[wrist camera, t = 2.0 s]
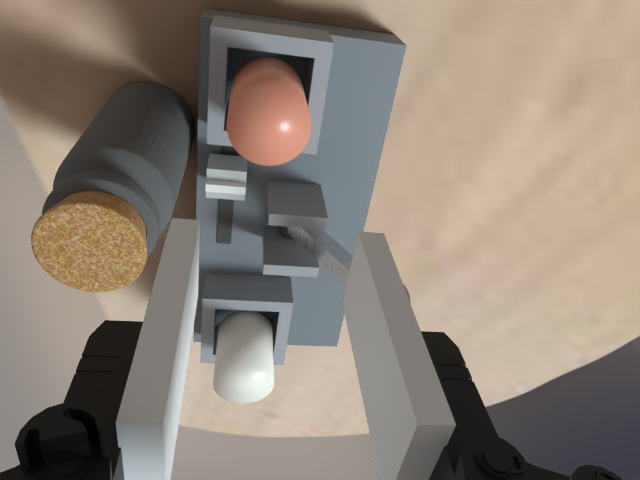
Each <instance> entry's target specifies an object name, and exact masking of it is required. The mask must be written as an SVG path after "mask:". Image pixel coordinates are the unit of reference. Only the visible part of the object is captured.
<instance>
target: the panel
mask: <svg viewBox="0 0 640 480" xmlns="http://www.w3.org/2000/svg"><path fill="white" fill-rule="evenodd" d="M405 49H406V45H405V44H404V43H403V42H402V41H401V40H400V39H399V38H398V37H397V36H396V35H395V34H388V33H381V32H374V31H367V30H360V29H353V28H346V27H339V26H332V25H325V24H318V23H311V22H303V21H296V20H289V19H282V18H275V17H268V16H261V15H254V14H247V13H240V12H233V11H225V10H218V9H211V8H204V10H203V12H202V14H201V16H200V31H199V85H198V139H197V193H196V220H200V235H199V279H198V300H197V307H196V313H195V320H194V342H201V362H200V363H215V360H216V349H217V339H218V329H219V325H220V323H221V321H222V320H223V319H224V318H225V317H227V316H228V315H230V314H232V313H235V312H239V311H253V312H257V313H259V314H261V315H263V316H265V317H266V318H267V319H268V320H269V321H270V323H271V325H272V335H273V365H284V359H285V353H286V346H287V345H308V346H337V343H338V338H339V334H340V330H341V325H342V321H343V317H344V307H343V299H344V294H345V290H346V287H345V286H344V285H343V284H342V283H341V282H340V281H339V280H338V279H337V278H336V277H335V276H334V275H333V274H332V273H330V272H329V271H328V270H327V269H326V268H325V267H324V266H323V265H322V264H321V263H320V262H319V261H318V260H317V259H316V258H314V257H313V256H312V255H311V254H310V253H309V252H308V251H307V250H306V249H305V248H304V247H303V246H302V245H301V244H300V243H298V242H297V241H296V240H295V239H287V238H284V237H282V236H281V235H280V234H279V233H278V230H279V226H288V227H302V228H315V229H322V230H324V231H325V232H326V233H327V234H328V235H329V236H331V237H332V238H333V239H334V240H335V241H336V242H338V243H339V244H340V245H341V246H342V247H343V248H345V249H346V250H347V251H348V252H349V253H350V254H352V255H353V254H354V250H355V246H356V241H357V237H358V232H363V230H364V226H365V222H366V217H367V213H368V209H369V204H370V200H371V196H372V192H373V187H374V183H375V179H376V174H377V170H378V166H379V161H380V157H381V153H382V148H383V144H384V140H385V135H386V131H387V127H388V122H389V118H390V114H391V110H392V105H393V101H394V97H395V92H396V88H397V84H398V79H399V75H400V71H401V66H402V62H403V58H404V53H405ZM260 57H273V58H277V59H280V60H282V61H284V62H286V63H288V64H289V65H290V66H291V67H293V69H294V70H295V71H296V72H297V74H298V75H299V77H300V79H301V82H302V85H303V89H304V93H305V97H306V101H307V105H308V110H309V114H310V118H311V134H310V138H309V140H308V143H307V145H306V146H305V148H304V149H303V151H302V152H301V153H300V154H299V155H298V156H296V157H295V158H294V159H292V160H290V161H288V162H286V163H283V164H280V165H274V166H265V165H259V164H256V163H253V162H251V161H249V160H247V178H246V193H245V201H242V200H230V199H217V198H206V192H205V188H206V178H207V165H208V160H209V154H221V155H231V156H241V155H240V154H239V153H238V152H237V151H236V150H235V148H234V147H233V145H232V144H231V142H230V139H229V137H228V133H227V115H228V108H229V101H230V94H231V87H232V82H233V79H234V77H235V75H236V73H237V72H238V70H239V69H240V68H241V67H242V66H243V65H244V64H246V63H247V62H249V61H251V60H253V59H256V58H260ZM242 157H243V156H242Z"/></svg>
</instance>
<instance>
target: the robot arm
mask: <svg viewBox="0 0 640 480" xmlns="http://www.w3.org/2000/svg"><path fill="white" fill-rule="evenodd" d="M199 235H200V220H192V219H178V218H171V222H170V226H169V229H168V233H167V237H166V240H165V244H164V248H163V251H162V255H161V259H160V262H159V266H158V270H157V273H156V277H155V281H154V284H153V288H152V292H151V295H150V299H149V303H148V306H147V310H146V314H145V317H144V321H143V322H134V321H109V320H105V321H104V322H103V323H102V324H101V325H100V326H99V327H98V328H97V329H96V330H95V331H94V332H93V333H92V334H91V335H90V336H89V339H88V341H87V343H86V346H85V349H84V351H83V354H82V359H80V362H79V364H78V367H77V369H76V374H75V375H74V377H73V380H72V382H71V385H70V388H69V390H68V393H67V395H66V398H65V400H64V403H63V404H59V405H56V406H52V407H49V408H47V409H45V410H43V411H42V412H40V413H38V414H37V415H35V416H33V417H32V418H31V419H30V420H29V421H28V422H27V423H26V425H25V426H24V427H23V428H22V429H21V430H20V432H19V435H18V437H17V440H16V442H15V447H16V451H17V454H18V457H19V461H20V465H18V466H16V467H14V468H12V469H9V470H6V471H4V472H1V473H0V480H170V478H171V471H172V464H173V458H174V451H175V445H176V438H177V431H178V425H179V419H180V412H181V405H182V399H183V392H184V386H185V379H186V372H187V366H188V359H189V353H190V346H191V340H192V333H193V326H194V320H195V313H196V307H197V300H198V279H199ZM343 307H344V312H345V317H346V322H347V326H348V331H349V336H350V341H351V346H352V350H353V355H354V360H355V365H356V369H357V374H358V379H359V384H360V388H361V393H362V398H363V403H364V407H365V412H366V417H367V422H368V426H369V431H370V436H371V440H372V445H373V450H374V455H375V460H376V465H377V469H378V474H379V479H380V480H622V479H621V478H620V477H618V476H617V475H616V474H614V473H613V472H610V471H608V470H606V469H604V468H602V467H599V466H593V465H585V466H581V467H578V468H577V469H576V470H575V472H574V473H573V474H572V475H571V476H570V477H569V476H566V475H562V474H559V473H555V472H552V471H549V470H546V469H542V468H539V467H537V466H534V465H531V464H529V463H527V462H525V459H524V457H523V456H522V455H521V454H520V453H519V452H518V451H517V449H516V448H515V447H514V446H512V445H511V444H509V443H508V442H507V441H505V440H504V439H502V438H499V436H498V435H497V433H496V431H495V428H494V426H493V424H492V422H491V419H490V417H489V415H488V413H487V410H486V408H485V406H484V404H483V402H482V399H481V397H480V395H479V393H478V390H477V388H476V386H475V384H474V382H472V377H471V375H470V373H469V370H468V368H466V364H465V361H464V359H463V357H462V355H461V352H460V350H459V348H458V347H457V346H456V345H455V344H454V342H453V341H452V340H451V339H450V338H449V337H448V336H447V335H446V334H445V333H444V332H422V331H420V328H419V325H418V323H417V320H416V318H415V315H414V312H413V310H412V307H411V304H410V302H409V299H408V296H407V294H406V291H405V288H404V286H403V283H402V280H401V278H400V275H399V273H398V270H397V267H396V265H395V262H394V259H393V257H392V254H391V251H390V249H389V246H388V243H387V241H386V238H385V235H384V233H371V232H358V237H357V241H356V246H355V250H354V254H353V259H352V263H351V268H350V272H349V277H348V281H347V285H346V290H345V294H344V299H343Z"/></svg>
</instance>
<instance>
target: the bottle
mask: <svg viewBox="0 0 640 480" xmlns="http://www.w3.org/2000/svg"><path fill="white" fill-rule="evenodd" d="M193 136H194V122H193V118H192V115H191V112H190V110H189V108H188V107H187V105H186V103H185V102H184V101H183V100H182V99H181V98H180V97H179V96H178V95H177V94H176V93H174V92H173V91H172V90H170V89H168V88H167V87H164V86H162V85H159V84H155V83H151V82H137V83H132V84H129V85H127V86H124V87H123V88H121V89H119V90H118V91H117V92H116V93H115V94H114V95H113V96H112V97H111V98H110V99H109V100H108V102H107V103H106V104H105V106H104V107H103V108H102V109H101V111H100V112H99V113H98V115H97V116H96V117H95V119H94V120H93V121H92V123H91V124H90V125H89V127H88V128H87V129H86V131H85V132H84V133H83V135H82V136H81V137H80V139H79V140H78V141H77V143H76V144H75V145H74V147H73V148H72V149H71V151H70V152H69V153H68V155H67V156H66V158H65V159H64V161H63V162H62V164H61V165H60V167H59V168H58V171H57V173H56V176H55V179H54V183H53V190H52V192H51V193H50V194H49V196H48V197H47V199H46V202H45V204H44V206H43V210H42V216H41V217H40V218H39V219H38V220H37V222H36V224H35V225H34V228H33V231H32V236H31V243H32V249H33V252H34V255H35V257H36V259H37V261H38V262H39V264H40V265H41V266H42V267H43V269H44V270H45V271H46V272H47V273H49V274H50V275H51V276H52V277H54V278H55V279H56V280H58V281H59V282H61V283H63V284H65V285H68V286H70V287H72V288H75V289H79V290H83V291H89V292H108V291H113V290H117V289H120V288H122V287H125V286H127V285H128V284H130V283H132V282H133V281H134V280H135V279H136V278H138V276H139V275H140V274H141V272H142V271H143V269H144V266H145V264H146V260H147V257H148V256H149V255H150V254H151V253H152V251H153V249H154V248H155V246H156V243H157V241H158V237H159V234H160V233H161V232H162V231H163V230H164V229H165V228H166V226H167V225H168V223H169V221H170V219H171V217H172V214H173V211H174V208H175V204H176V201H177V198H178V194H179V191H180V187H181V183H182V180H183V176H184V172H185V169H186V165H187V161H188V158H189V154H190V150H191V146H192V142H193Z"/></svg>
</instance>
